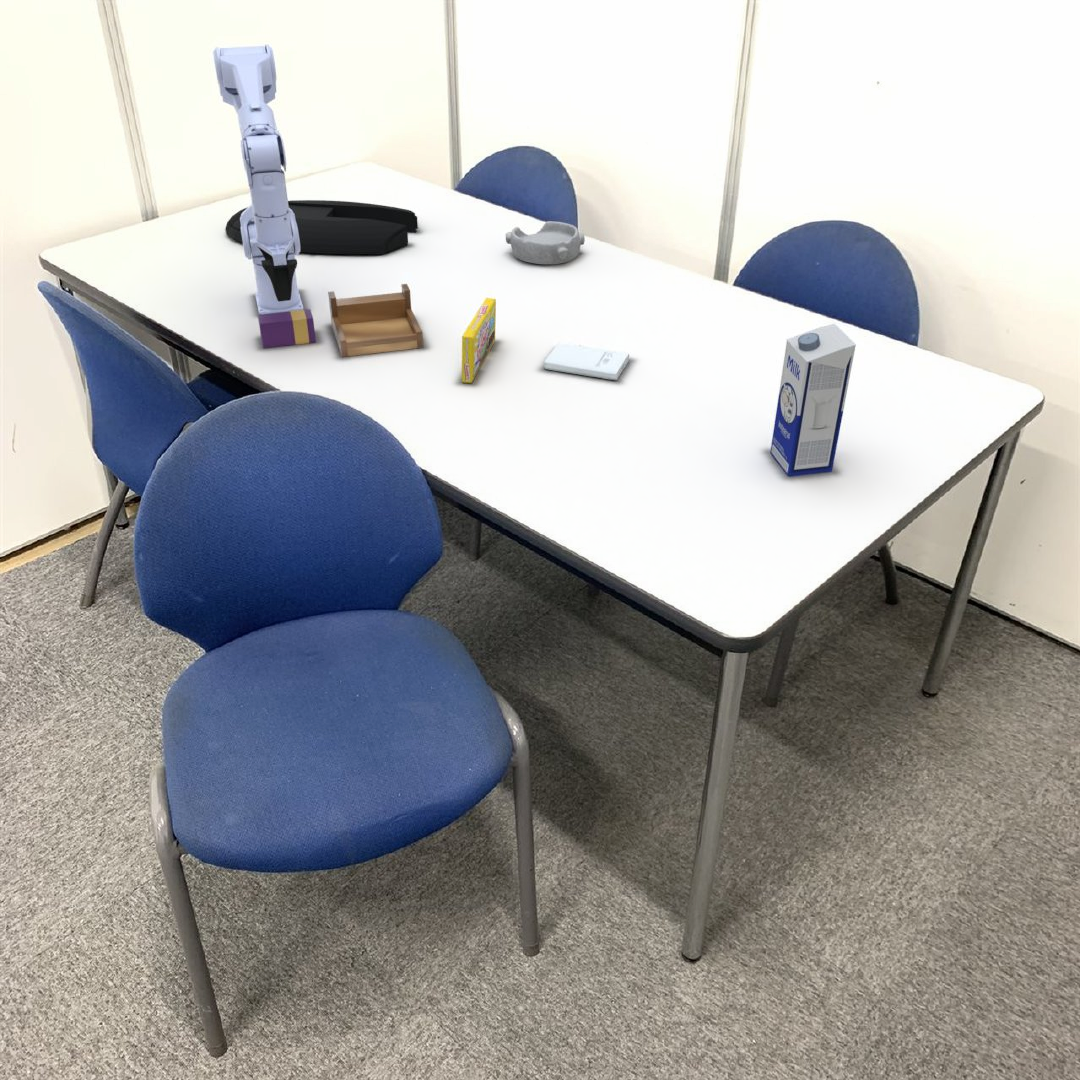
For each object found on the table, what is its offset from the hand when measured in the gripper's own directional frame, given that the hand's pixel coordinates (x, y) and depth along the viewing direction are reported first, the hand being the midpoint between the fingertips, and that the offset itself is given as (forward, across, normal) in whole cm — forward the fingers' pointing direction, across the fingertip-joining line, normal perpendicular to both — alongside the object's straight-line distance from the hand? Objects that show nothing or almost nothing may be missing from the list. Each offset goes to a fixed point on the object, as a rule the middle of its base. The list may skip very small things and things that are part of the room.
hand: (281, 291), depth 186 cm
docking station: (+9, -52, +12) cm, 54 cm away
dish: (+9, -27, +55) cm, 62 cm away
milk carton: (+9, +61, +67) cm, 91 cm away
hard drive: (+9, +23, +47) cm, 53 cm away
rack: (+9, +2, +15) cm, 18 cm away
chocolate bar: (+9, 0, 0) cm, 9 cm away
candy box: (+9, +17, +30) cm, 36 cm away
